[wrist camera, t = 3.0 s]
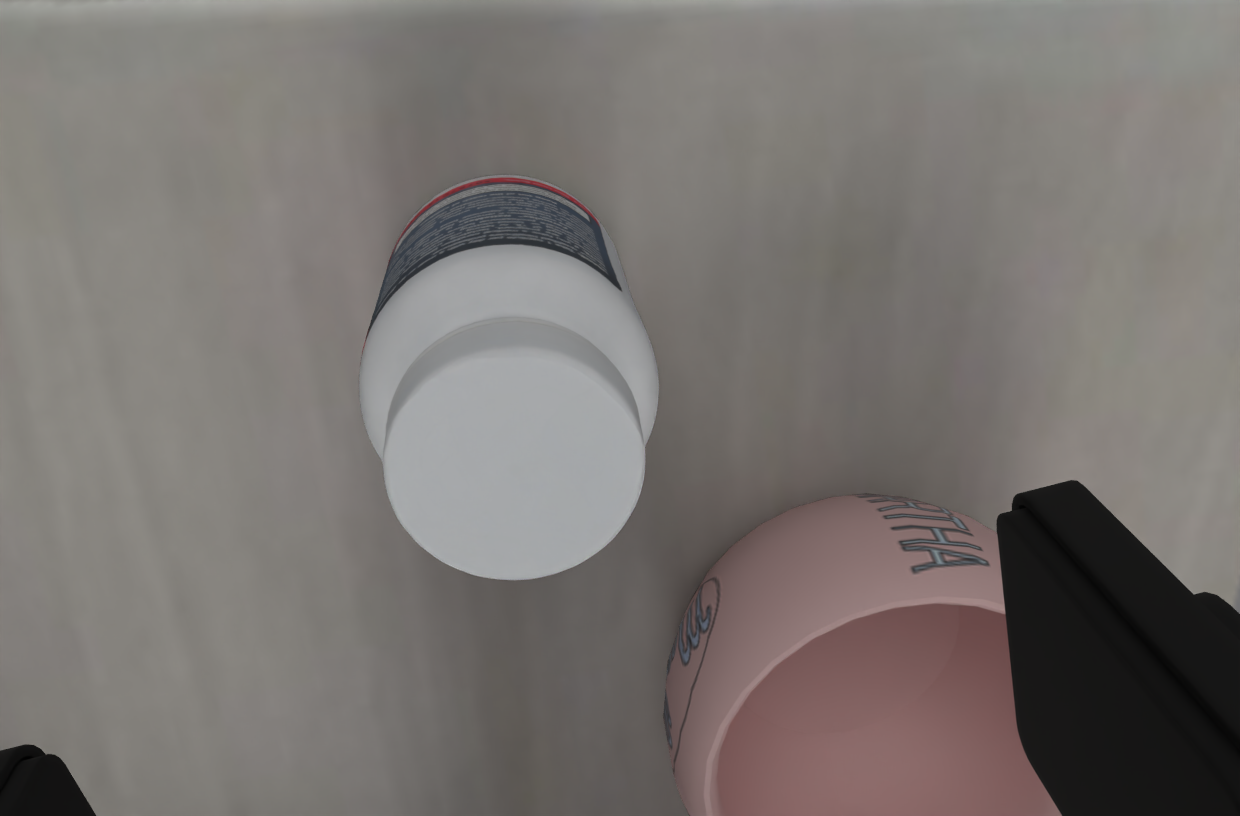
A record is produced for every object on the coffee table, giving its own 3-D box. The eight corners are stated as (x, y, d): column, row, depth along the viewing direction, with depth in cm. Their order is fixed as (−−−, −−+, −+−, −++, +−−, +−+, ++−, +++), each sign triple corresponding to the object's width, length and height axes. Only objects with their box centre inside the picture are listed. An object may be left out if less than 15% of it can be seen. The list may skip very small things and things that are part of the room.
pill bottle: (341, 239, 23) (261, 403, 15) (555, 127, 23) (588, 235, 15) (463, 433, 26) (449, 665, 17) (660, 334, 25) (739, 525, 17)
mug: (657, 444, 26) (699, 578, 21) (1044, 443, 27) (1178, 570, 22) (631, 820, 31) (660, 1007, 26) (961, 805, 32) (1055, 982, 27)
